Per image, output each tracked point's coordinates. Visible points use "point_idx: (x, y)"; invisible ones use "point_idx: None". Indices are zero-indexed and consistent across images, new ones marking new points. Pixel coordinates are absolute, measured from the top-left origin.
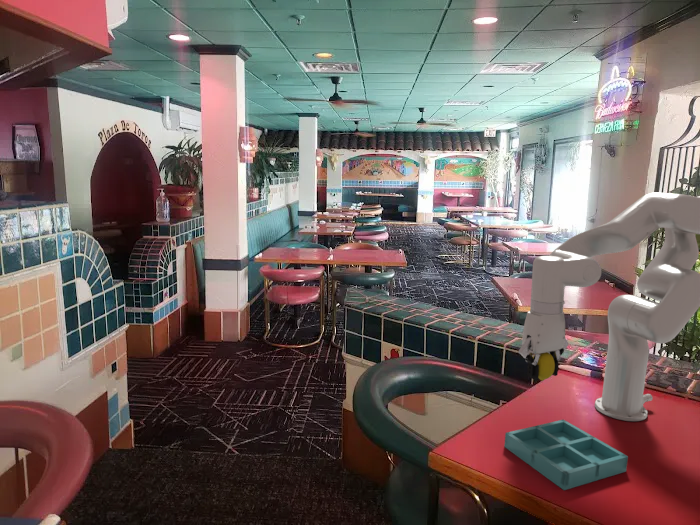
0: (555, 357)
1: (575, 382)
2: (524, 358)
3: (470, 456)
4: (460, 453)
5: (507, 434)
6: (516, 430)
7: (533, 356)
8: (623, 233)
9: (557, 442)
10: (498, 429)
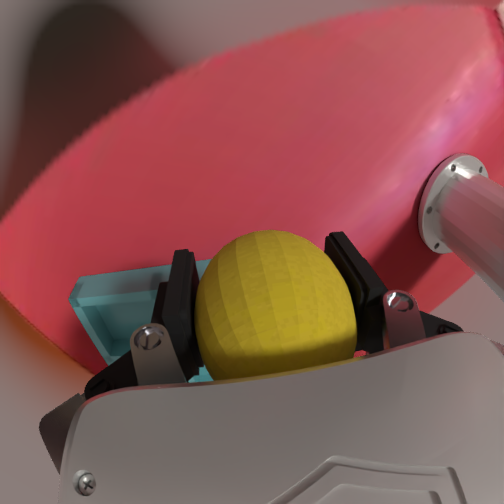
0: (369, 353)
1: (484, 57)
2: (105, 370)
3: (18, 287)
4: (5, 275)
5: (71, 304)
6: (95, 297)
7: (224, 329)
8: None
9: None
10: (92, 204)
